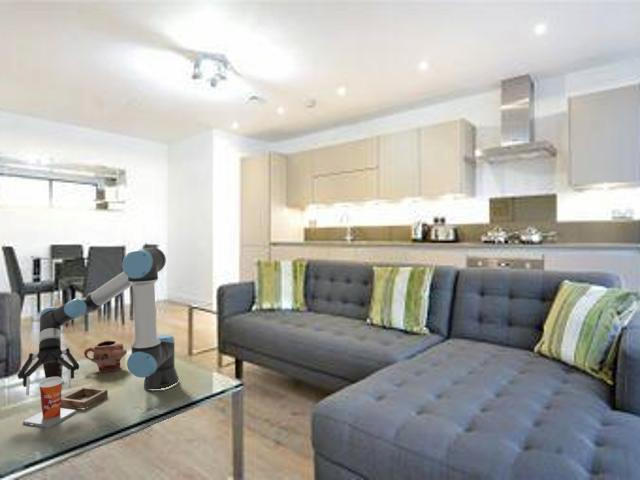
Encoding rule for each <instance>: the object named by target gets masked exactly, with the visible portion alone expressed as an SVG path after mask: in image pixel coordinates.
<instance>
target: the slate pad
mask: <svg viewBox="0 0 640 480" xmlns="http://www.w3.org/2000/svg"><path fill="white" fill-rule="evenodd" d="M74 413H75V414H76V413H77V409H72V408H65V407H61V410H60V415H58V416H57V417H54V418H50V419H45V418H43V413H42V411H40V412H39V413H36V414H35V415H32V416H31V417H29V418H26V419H25V420H23V421H22V424H23V423H26V424H25V425H27V424H33V425H35V426H34V427H40V428H47V429H51V428H52V427H53V426H56V424H59V423H60V422H62V421H64V420H66V419H67V418H69V417H71V416H73V415H74ZM33 425H32V426H33Z"/></svg>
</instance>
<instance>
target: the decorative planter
mask: <svg viewBox="0 0 640 480" xmlns="http://www.w3.org/2000/svg"><path fill="white" fill-rule="evenodd" d="M89 352H92V353H93V356H92V357H93V358H92V357H89V355H88V353H89ZM127 353H128V350H127V349H125V348H124V345H123V343H122V342H120V341H117V340H104V341H101V342H99V343H96V344H95V346H93V347H92V346H91V347H88V348H86V349H85V350H84V352H83V355H84V357H85V358H86V359H87V360H89V361H91V362H93V363H95V364H96V365H97V367H98V371H99V372H101V373H102V372H103V373H104V372H105V373H107V372H113V371H116V370H118V369H120V368H121V359H122V358H123V357H125V355H127Z"/></svg>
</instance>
